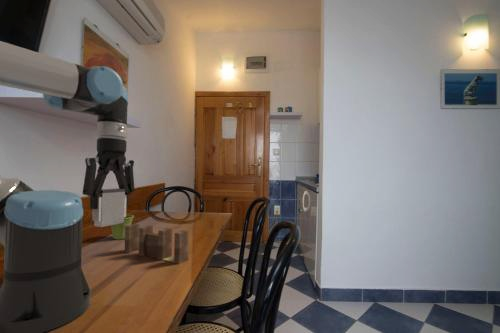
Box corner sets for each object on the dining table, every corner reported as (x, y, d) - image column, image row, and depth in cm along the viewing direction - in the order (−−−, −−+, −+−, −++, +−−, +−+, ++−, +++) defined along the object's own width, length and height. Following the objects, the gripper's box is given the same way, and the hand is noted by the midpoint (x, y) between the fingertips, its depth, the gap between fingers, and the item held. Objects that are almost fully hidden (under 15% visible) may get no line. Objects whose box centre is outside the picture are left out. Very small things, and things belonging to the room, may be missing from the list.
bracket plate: (101, 227, 68) (102, 190, 69) (94, 225, 70) (95, 189, 70) (124, 222, 75) (125, 188, 75) (116, 221, 76) (117, 188, 76)
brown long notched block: (179, 263, 76) (179, 233, 76) (124, 252, 86) (125, 225, 86) (188, 259, 79) (188, 230, 79) (134, 249, 89) (134, 223, 89)
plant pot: (104, 241, 98) (105, 219, 98) (111, 235, 107) (112, 215, 107) (130, 240, 100) (131, 218, 100) (135, 234, 109) (136, 214, 109)
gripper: (85, 133, 62) (82, 226, 62) (148, 142, 80) (147, 214, 80) (67, 134, 65) (64, 223, 65) (132, 143, 83) (130, 212, 83)
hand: (109, 218), depth 72 cm, fingers closed on bracket plate, 7 cm apart
